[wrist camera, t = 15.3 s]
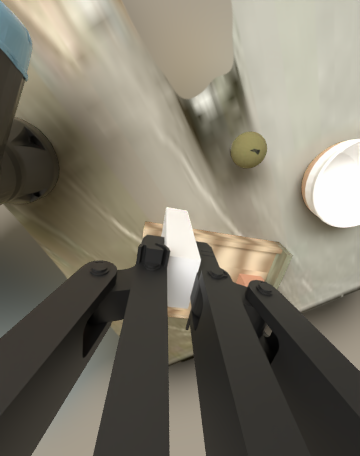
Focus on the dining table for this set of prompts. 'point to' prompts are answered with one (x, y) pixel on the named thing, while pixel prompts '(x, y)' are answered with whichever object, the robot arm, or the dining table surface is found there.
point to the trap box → (237, 257)
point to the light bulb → (248, 149)
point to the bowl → (335, 184)
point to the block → (247, 279)
